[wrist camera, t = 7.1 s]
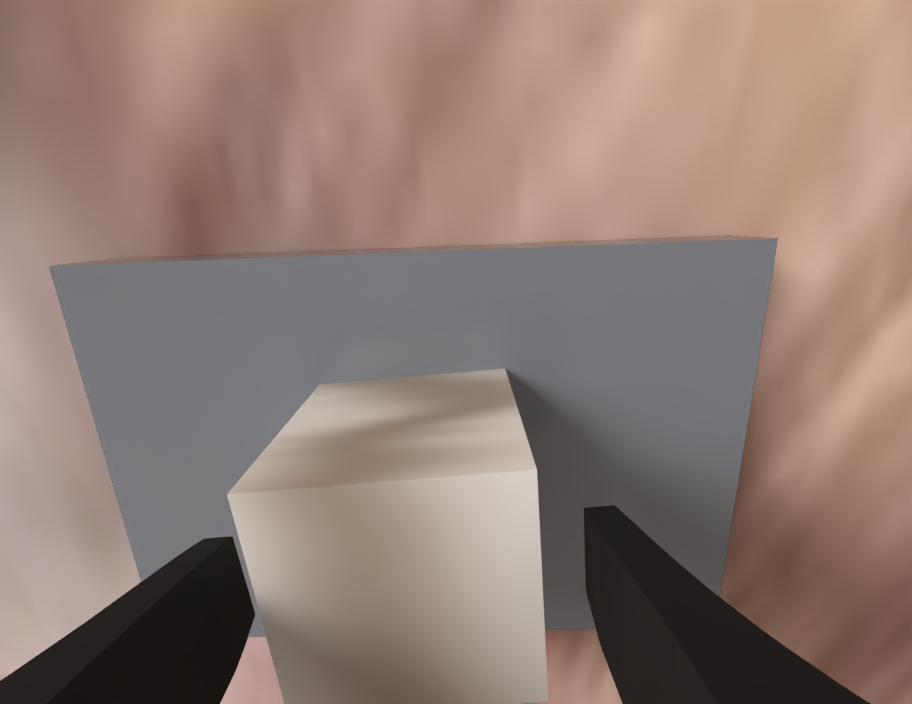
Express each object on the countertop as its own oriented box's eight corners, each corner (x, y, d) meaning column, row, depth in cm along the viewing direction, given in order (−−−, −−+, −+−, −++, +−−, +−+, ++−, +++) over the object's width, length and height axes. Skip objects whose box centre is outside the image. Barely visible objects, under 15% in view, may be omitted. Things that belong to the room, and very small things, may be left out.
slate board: (729, 235, 13) (777, 238, 11) (684, 577, 16) (715, 625, 14) (108, 259, 13) (49, 265, 11) (192, 590, 16) (158, 639, 15)
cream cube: (504, 368, 12) (537, 469, 7) (515, 527, 13) (548, 701, 8) (319, 384, 12) (226, 494, 7) (349, 540, 13) (289, 717, 9)
